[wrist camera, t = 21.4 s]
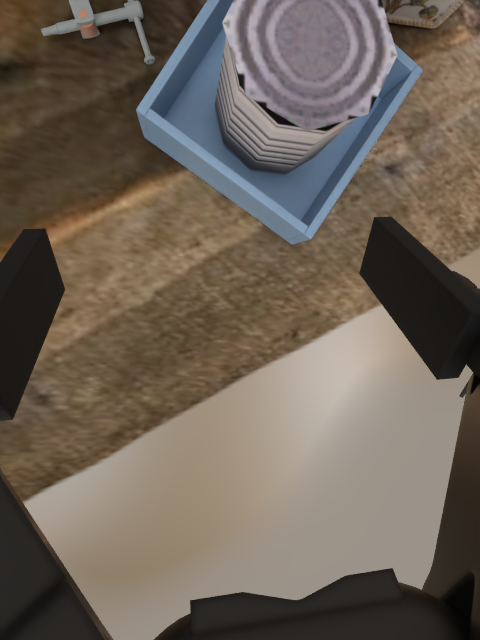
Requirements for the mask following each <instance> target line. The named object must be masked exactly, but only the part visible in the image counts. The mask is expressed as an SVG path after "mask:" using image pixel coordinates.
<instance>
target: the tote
mask: <svg viewBox="0 0 480 640" xmlns="http://www.w3.org/2000/svg"><path fill="white" fill-rule="evenodd" d="M233 1H234V0H207V2H206V3H205V5H204V6H203V8H202V9H201V11H200V12H199V14H198V15H197V17H196V19H195V20H194V22H193V23H192V25H191V26H190V28H189V29H188V31H187V32H186V34H185V35H184V37H183V38H182V40H181V42H180V43H179V45H178V46H177V48H176V49H175V51H174V52H173V54H172V55H171V57H170V58H169V60H168V61H167V63H166V65H165V66H164V68H163V69H162V71H161V72H160V74H159V75H158V77H157V78H156V80H155V81H154V83H153V84H152V86H151V87H150V89H149V91H148V92H147V94H146V95H145V97H144V98H143V100H142V101H141V103H140V104H139V106H138V107H137V109H136V111H137V115H138V118H139V121H140V125H141V128H142V131H143V135H144V137H145V138H146V139H147V140H149V141H150V142H151V143H153V144H154V145H156V146H157V147H158V148H160V149H161V150H162V151H164V152H165V153H167V154H168V155H169V156H171V157H172V158H173V159H175V160H176V161H178V162H179V163H180V164H182V165H183V166H184V167H186V168H187V169H189V170H190V171H191V172H193V173H194V174H195V175H197V176H198V177H200V178H201V179H202V180H204V181H205V182H206V183H208V184H209V185H211V186H212V187H213V188H215V189H216V190H217V191H219V192H220V193H222V194H223V195H224V196H226V197H227V198H228V199H230V200H231V201H233V202H234V203H235V204H237V205H238V206H239V207H241V208H242V209H244V210H245V211H246V212H248V213H249V214H250V215H252V216H253V217H255V218H256V219H257V220H259V221H260V222H261V223H263V224H264V225H266V226H267V227H268V228H270V229H271V230H272V231H274V232H275V233H277V234H278V235H279V236H281V237H282V238H283V239H285V240H286V241H288V242H289V243H290V244H292V245H294V244H297V243H300V242H303V241H307V240H310V239H312V237H313V236H314V234H315V233H316V231H317V230H318V228H319V227H320V225H321V224H322V222H323V221H324V219H325V218H326V216H327V215H328V213H329V212H330V210H331V208H332V207H333V205H334V204H335V202H336V201H337V199H338V198H339V196H340V195H341V193H342V192H343V190H344V189H345V187H346V186H347V184H348V183H349V181H350V180H351V178H352V177H353V175H354V174H355V172H356V171H357V169H358V168H359V166H360V165H361V163H362V162H363V160H364V159H365V157H366V156H367V154H368V153H369V151H370V150H371V148H372V147H373V145H374V144H375V142H376V141H377V139H378V138H379V136H380V135H381V133H382V132H383V130H384V129H385V127H386V126H387V124H388V123H389V121H390V120H391V118H392V117H393V115H394V114H395V112H396V111H397V109H398V108H399V106H400V105H401V103H402V102H403V100H404V99H405V97H406V96H407V94H408V93H409V91H410V90H411V88H412V87H413V85H414V84H415V82H416V81H417V79H418V78H419V76H420V75H421V73H422V72H423V69H422V68H421V67H420V66H419V65H416V63H415V62H414V61H413V60H412V59H411V58H410V57H409V56H408V55H406V54H405V53H404V52H403V51H402V50H401V49H400V48H399V47H398V46H397V45H395V44H394V45H395V49H396V52H397V57H396V59H395V61H394V64H393V66H392V68H391V70H390V72H389V74H388V76H387V78H386V80H385V82H384V84H383V86H382V88H381V90H380V92H379V94H378V97H377V99H376V101H375V103H374V105H373V107H372V109H371V111H370V113H369V114H368V115H364V116H361V117H357V118H356V119H355V120H353V121H352V122H351V123H350V124H349V125H348V126H347V127H346V128H345V129H344V130H343V131H342V132H341V133H340V134H339V135H338V136H336V137H335V138H334V139H333V140H332V141H331V142H330V143H329V144H328V145H327V146H326V147H325V148H324V149H323V150H322V151H321V152H320V153H318V154H317V155H316V156H315V157H314V158H312V159H311V160H309V161H307V162H306V163H304V164H302V165H301V166H299V167H297V168H296V169H294V170H293V171H291V172H289V173H288V174H286V175H282V174H274V173H266V172H259V171H251V170H249V169H248V168H247V167H246V166H245V165H244V164H243V163H242V162H241V161H240V160H239V159H238V158H237V157H236V156H235V155H234V154H233V153H232V152H230V151H229V150H228V149H227V148H226V147H225V146H224V145H223V141H222V137H221V133H220V128H219V124H218V120H217V115H216V111H215V100H216V94H217V88H218V82H219V76H220V70H221V64H222V58H223V52H224V46H225V40H226V33H225V30H224V27H223V24H222V22H223V20H224V18H225V16H226V14H227V12H228V10H229V8H230V6H231V4H232V3H233Z"/></svg>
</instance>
